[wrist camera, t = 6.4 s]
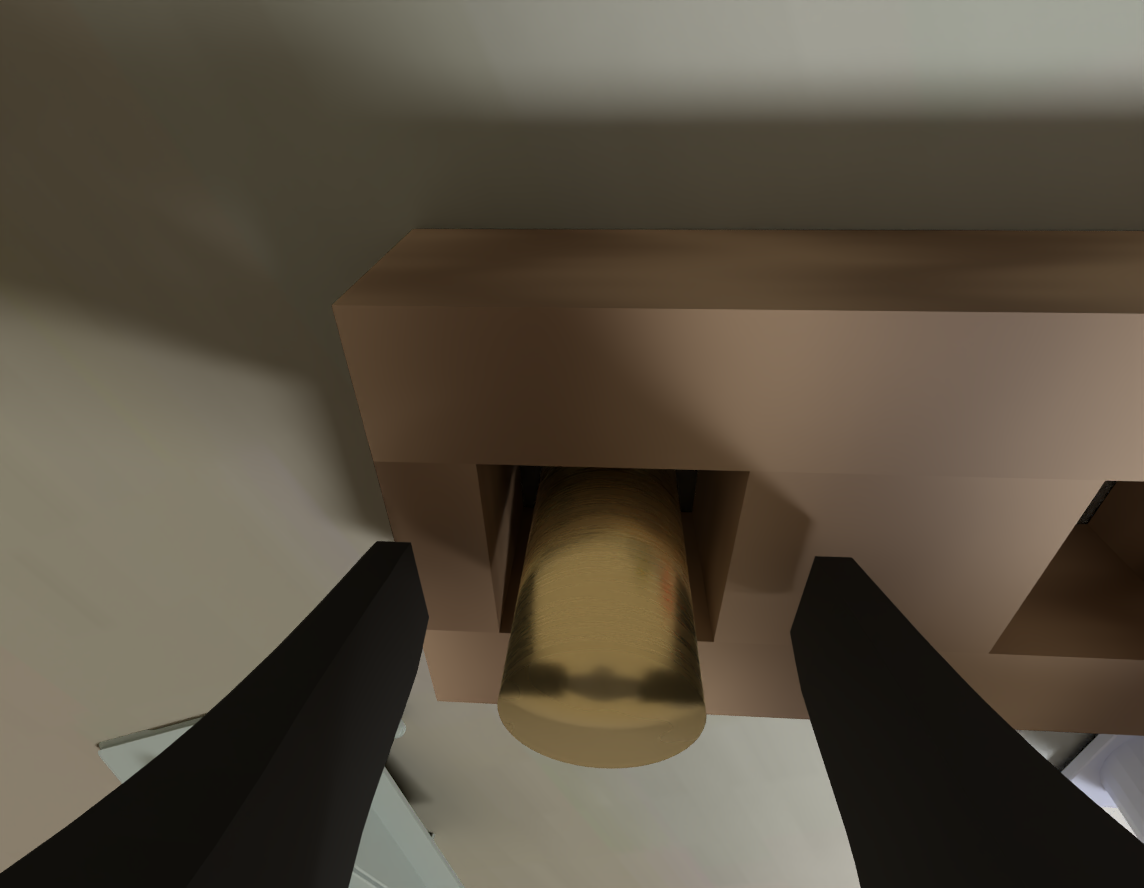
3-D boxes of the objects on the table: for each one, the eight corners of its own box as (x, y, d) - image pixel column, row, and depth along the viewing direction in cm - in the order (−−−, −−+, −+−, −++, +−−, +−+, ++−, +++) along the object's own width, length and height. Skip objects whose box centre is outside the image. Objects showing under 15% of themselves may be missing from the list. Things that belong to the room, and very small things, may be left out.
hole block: (1393, 231, 10) (1756, 319, 7) (1103, 598, 16) (1227, 739, 13) (413, 228, 11) (331, 305, 8) (471, 574, 17) (437, 700, 14)
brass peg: (676, 389, 13) (720, 657, 7) (666, 491, 15) (694, 774, 9) (545, 387, 13) (487, 646, 7) (550, 487, 15) (506, 762, 9)
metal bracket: (512, 972, 22) (234, 990, 26) (546, 827, 27) (310, 862, 32) (319, 682, 18) (37, 760, 23) (402, 581, 24) (160, 660, 28)
